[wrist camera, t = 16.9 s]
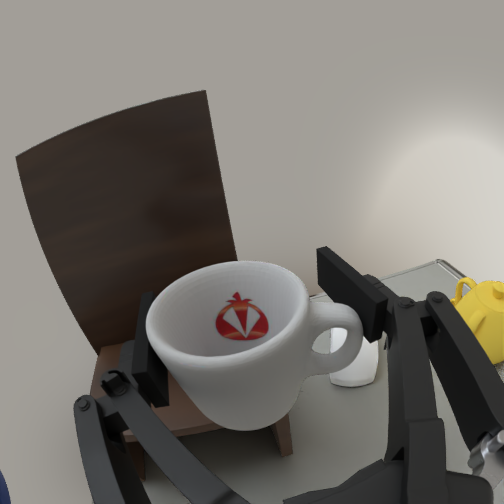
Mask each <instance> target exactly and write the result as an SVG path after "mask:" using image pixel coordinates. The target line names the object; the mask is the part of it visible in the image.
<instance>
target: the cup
mask: <svg viewBox="0 0 504 504" xmlns="http://www.w3.org/2000/svg"><path fill="white" fill-rule="evenodd" d="M331 328H343V329H346V330H347V336H346V340H345V342H344V343H343V345H342V346H341V347H340V348H339V349H338V350H337V351H335V352H333V353H329V354H319V353H316V352H315V351H313V350H312V346H313V343H314V341H315V340H316V338H317V337H318V336H319V335H320V334H321V333H323V332H324V331H326V330H328V329H331ZM146 332H147V336H148V339H149V342H150V344H151V346H152V347H153V349H154V351H155V352H156V353H157V355H158V356H159V358H160V359H161V361H162V362H163V363H164V365H165V366H166V367H167V369H168V370H169V372H170V373H171V374H172V376H173V377H174V378H175V380H176V381H177V382H178V383H179V385H180V386H181V387H182V389H183V390H184V391H185V392H186V394H187V395H188V396H189V397H190V399H191V400H192V401H193V402H194V404H195V405H196V406H197V407H198V408H199V410H200V411H201V412H202V413H203V414H204V415H205V416H206V417H208V418H209V419H210V420H212V421H213V422H215V423H216V424H218V425H221V426H223V427H226V428H229V429H233V430H241V431H249V430H256V429H261V428H264V427H267V426H269V425H271V424H273V423H275V422H277V421H278V420H280V419H281V418H282V417H284V416H285V415H286V414H287V413H288V412H289V410H290V409H291V408H292V407H293V405H294V403H295V402H296V400H297V397H298V395H299V392H300V388H301V385H302V383H303V381H304V380H305V379H306V378H307V377H310V376H315V375H323V374H330V373H334V372H338V371H340V370H342V369H344V368H346V367H347V366H349V365H350V364H351V363H352V362H353V361H354V360H355V359H356V357H357V355H358V354H359V352H360V349H361V347H362V342H363V326H362V323H361V320H360V318H359V316H358V314H357V313H356V312H355V311H354V310H353V309H352V308H350V307H349V306H347V305H344V304H339V303H327V302H312V301H310V298H309V294H308V291H307V288H306V286H305V285H304V283H303V282H302V281H301V280H300V279H299V277H298V276H296V275H295V274H294V273H292V272H291V271H289V270H287V269H285V268H283V267H281V266H278V265H275V264H271V263H267V262H260V261H232V262H225V263H219V264H215V265H211V266H207V267H204V268H201V269H199V270H196V271H193V272H191V273H189V274H187V275H185V276H183V277H181V278H180V279H178V280H176V281H175V282H173V283H172V284H170V285H169V286H168V287H167V288H165V289H164V290H163V291H162V292H161V293H160V294H159V295H158V296H157V298H156V299H155V300H154V302H153V303H152V305H151V307H150V309H149V312H148V314H147V318H146Z"/></svg>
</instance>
